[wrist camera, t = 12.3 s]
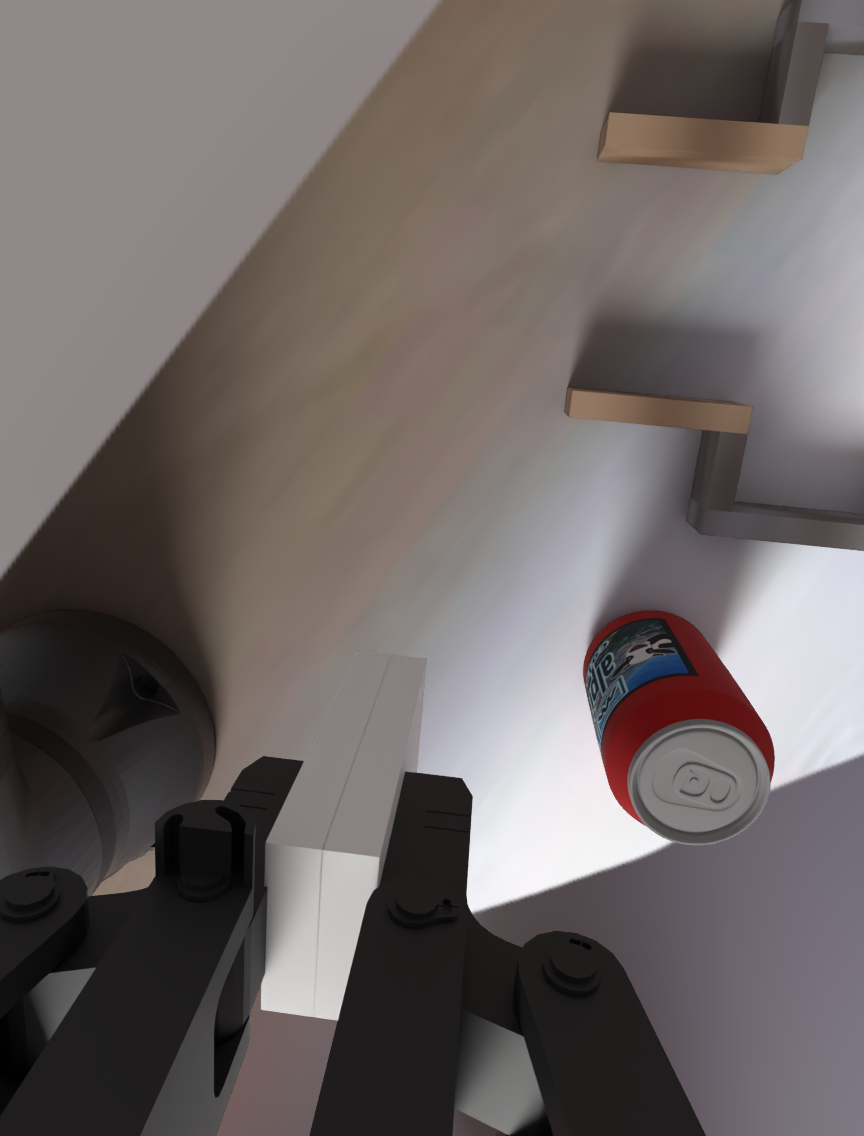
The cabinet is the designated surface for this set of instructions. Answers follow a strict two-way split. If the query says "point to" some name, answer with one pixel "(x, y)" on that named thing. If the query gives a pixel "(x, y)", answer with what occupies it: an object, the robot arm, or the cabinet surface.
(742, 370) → the cabinet surface
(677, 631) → the beverage can
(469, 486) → the cabinet surface
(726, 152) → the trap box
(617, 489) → the cabinet surface
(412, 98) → the cabinet surface
